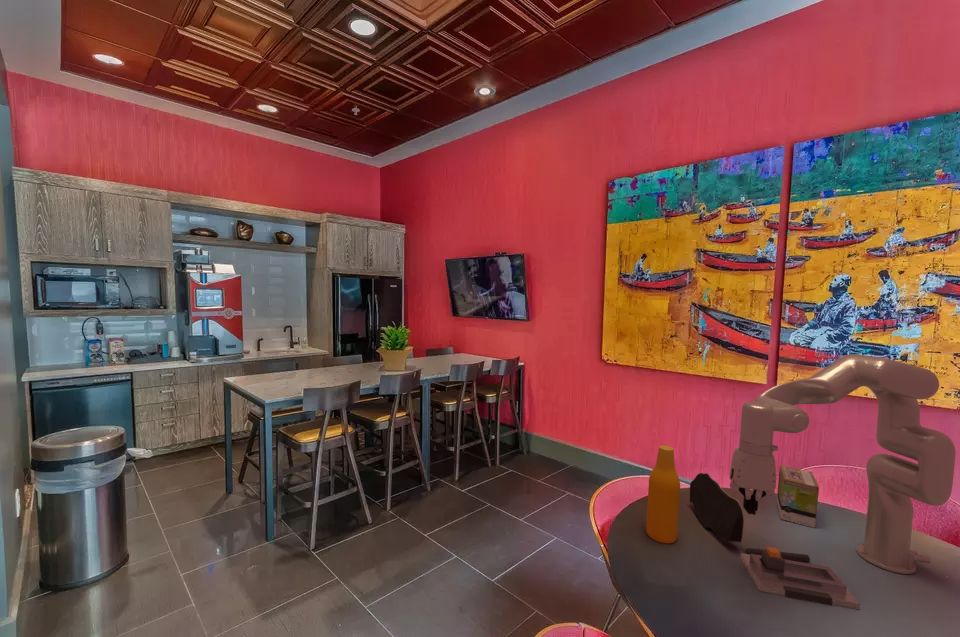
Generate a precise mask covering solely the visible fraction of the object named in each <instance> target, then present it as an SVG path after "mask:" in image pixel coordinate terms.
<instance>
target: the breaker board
mask: <svg viewBox="0 0 960 637" xmlns="http://www.w3.org/2000/svg"><path fill="white" fill-rule="evenodd" d="M740 560H741V561H742V563H743V565H744V567H745V569H746V570H747V572H748V574H749V575H750V578H751V579H752V581H753V583H754V585H755V586H756V588H757V590H758V591H759V592H764V593H770V594H775V595H780V596H785V594H786V590H785V588H784V587H783V585H784V586H789V587H795V588H800V589H806V590H811V591H816V592H822V593H827V594H829V595H830V596H831V597H832V605H833V606H837V607H838V606H839V607H842V608H848V609H854V610H859V611H860V609H861V608H860V607H861V603H860V602H859V601H858V600H857V599H856V597H855V596H854V595H853V594H852V593H851V592H850V591H849V590H848V587H847V586H846V584H845V583H844V582H843V581H842V580H841V579H840V577H839V576H838V575H837V574H836V572H834V570H832V568H831V567H830V566H825V565H821V564H816V563H815V564H814V563H810V562H808V563H807V562H804V561H797V560H789V559H784V560H785V567H784V572H780V571H774V570H768V569H765V567H764V565H763V564H762V562H761V555H756V554H747V553H743V552H740ZM785 597H786V596H785ZM832 605H831V606H832Z"/></svg>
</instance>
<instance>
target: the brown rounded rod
mask: <svg viewBox="0 0 960 637" xmlns="http://www.w3.org/2000/svg"><path fill="white" fill-rule="evenodd" d="M744 550H745V554H756V555H761V556H762V548H761V549H760V548H751V547H746V548H745V549H744ZM779 552H780V553H781V556H782V557H783V559H785V560H791V561H797V562H805V563H807V562H808V563H810V561H811V559H810V555H808V554H802V553H795V552H785V551H779Z"/></svg>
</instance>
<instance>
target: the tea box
mask: <svg viewBox="0 0 960 637" xmlns="http://www.w3.org/2000/svg"><path fill="white" fill-rule="evenodd" d="M778 472H779V474H778V484H777V492H776V493H777V494H776V504H777V509H778V514H779V518H780V520H784V521H786V520H787V521H786V522H790V521H791V522H790V523H793V522H795V523H794V524H797V523H798V525H801V524H802V525H801V526H806V527H809V528H813V529H814V528H815V527H816V522H817V521H816V520H817V513H818V510H817V509H818V502H819V494H820V493H819V492H820V486H819V484H818V482H817V480H816V478H815V475H814V474H813V471H809V470H805V469H800V468H795V467H790V466H785V465H779V470H778Z"/></svg>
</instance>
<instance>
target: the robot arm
mask: <svg viewBox="0 0 960 637" xmlns="http://www.w3.org/2000/svg"><path fill="white" fill-rule="evenodd" d="M861 387H865V388H866V387H867V388H868V389H869V390H871V392H872V394H874V396H875V397H876V400H877V406H878V408H877V410H878V411H877V419H876V420H877V421H876V422H877V423H876V433H875V434H876V436H875V438H876V442H877V444H878V445H879V447H881V448H882V449H884V450H886V451H889V452H890V453H894V454H897V455H899V456H902V457H899V456H895V455H892V454H887V453H878V454H877V453H876V454H874V455H872V456H871V457H869V458H868V460H867V462H866V467H865V469H866V470H865V471H866V477H867V482H868V495H867V496H868V497H867V498H868V499H867V508H866V521H865V531H864V532H865V533H864V542H863V543H861V544H858V545H857V546H856V553H857V554H858V555H859V556H860V557H861V558H862V559H863V560H865V561H867V562H868V563H870V564H872V565H873V566H876V567H878V568H879V569H880V568H881V569H883V570H887V571H889V572H892V573H897V574H903V575H910V574H911V575H912V574H914V573H916V571H917V566H916V564H915V563H917V562H919V563H924V564H931V558H930V557H929V556H928V555H922V554H919V553H918V550H911V543H912V532H913V531H912V530H913V519H914V515H915V514H914V513H915V512H914V511H915V510H914V504H913V502H912V499H914V500H915V501H918V502H921V503H924V504H925V505H929V506H942V505H944V504H946V503H947V502H948V500H950V497H951V495H952V491H953V486H954V485H953V484H954V477H955V476H954V475H955V465H956V447H955V444H954V442H953V440H952V439H951V438H950V437H949V435H947V434H945V433H943V432H941V431H938V430H935V429H932V428H928V427H924V426H922V425H921V422H920V421H921V419H920V418H921V406H920V404H919V401H918V400H926V399H927V400H928V399H930V398H932V397H933V396H935V395H936V394H937V392H938V390H939V388H940V380H939V378H938V377H937V375H936V374H935V373H934V372H933V371H931V370H929V369H928V368H924V367H921V366H920V367H919V366H917V365H913V364H908V363H905V362H901V361H898V360H893V359H890V358H885V357H878V356H872V355H865V354H858V353H857V354H855V353H852V354H846V355H843V356H841V357H840V358H838V359H836V360H835V361H833V362H831V363H830V364H829V365H827V366H826V367H823V369H822V368H821V370H820V371H818V372H816V373H814V374H813V375H811V376H810V377H807V378H806V377H805V378H801V379H796V380H792V381H789V382H788V381H787V382H784V383H780V384H778V385H774V386H773V387H770V388H769V389H767V390H765V391H764V392H762V393H760V394H759V395H758V396H756V397H755V398H754V400H753V401H746V402H744V403H743V404H742V408H741V416H740V417H741V418H740V431H739V444H738V447H736V448H735V449H734V451H733V455H732V459H731V464H730V467H729V468H730V469H729V479H730V483H729V487H730V489H731V490H733V491H736V492H738V493H739V492H740V494H741V495H742V496H743V504H742V508H743V509H744V510H745V512H746V513H747V514H748V515H753V516H756V514H757V511H758V509H759V502H760V501H761V500H762V499H763V498H764V497H766V496H774V495H775V494H776V492H775V490H776V486H777V468H776V460H775V455H774V454H773V453H774V452H775V451H776V452H778V451H779V447H778V446H777V445H774V444H773V443H774V432H781V433H785V434H798V433H802V432H803V431H805V430H807V428H808V427H809V424H810V417H809V415H808V413H807V412H806V410H804V409H803V408H801V407H798V405H827V404H828V405H829V404H835V403H838V402H839V401H840V400H842V399H844V398H845V397H846V396H849V395H850V394H851V393H852V392H855V391H856V390H857V389H859V388H861ZM796 405H797V406H796ZM903 457H905V458H908V459H911V460H914V461H916V462H917V463H915V462H913V461H910V460H907V459H904V458H903ZM751 490H752V492H751Z"/></svg>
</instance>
